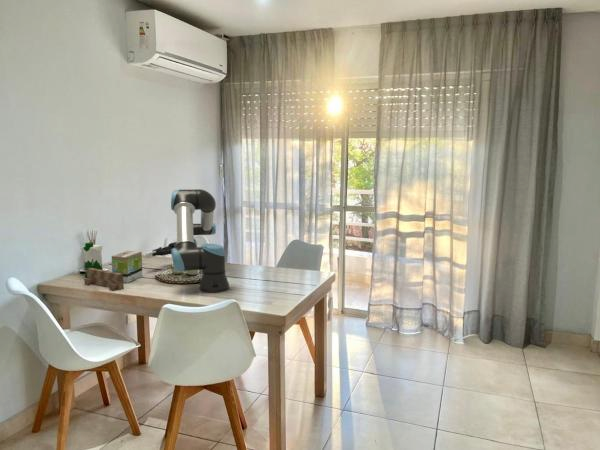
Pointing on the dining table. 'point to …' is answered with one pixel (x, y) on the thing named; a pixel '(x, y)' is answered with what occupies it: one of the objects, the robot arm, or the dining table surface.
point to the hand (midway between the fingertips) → (147, 255)
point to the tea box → (128, 265)
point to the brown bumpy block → (104, 279)
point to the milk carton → (92, 256)
